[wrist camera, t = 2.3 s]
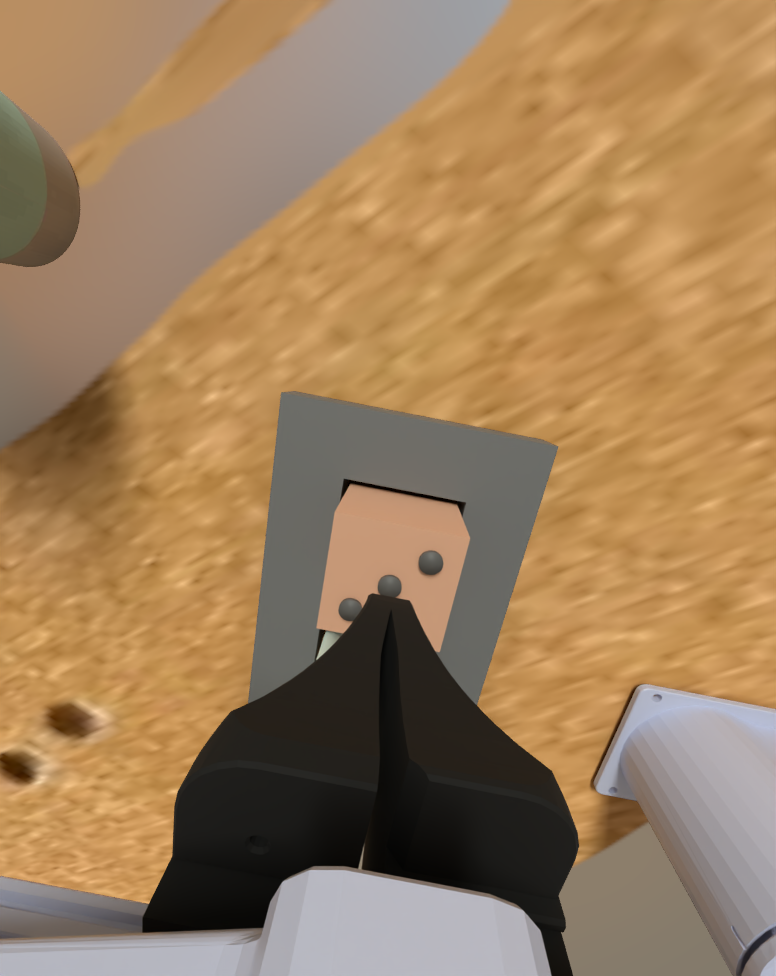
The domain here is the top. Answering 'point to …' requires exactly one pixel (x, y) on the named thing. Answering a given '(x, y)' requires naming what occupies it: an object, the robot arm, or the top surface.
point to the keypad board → (406, 466)
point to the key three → (393, 557)
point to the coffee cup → (33, 191)
